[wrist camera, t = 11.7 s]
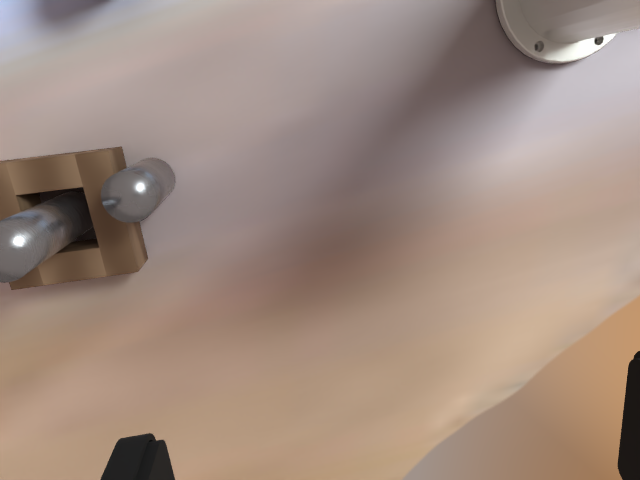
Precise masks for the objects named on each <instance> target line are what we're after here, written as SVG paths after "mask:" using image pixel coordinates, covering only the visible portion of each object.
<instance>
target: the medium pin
mask: <svg viewBox="0 0 640 480" xmlns="http://www.w3.org/2000/svg"><path fill="white" fill-rule="evenodd" d="M174 186H175V175H174V172H173V170H172V168H171V167H170V166H169V165H168V164H167V163H166V162H164V161H162V160H160V159H157V158H147V159H144V160H142V161H140V162H138V163H136V164H134V165H132V166H130V167H128V168H126V169H124V170H122V171H120V172H118V173H116V174H114V175H112V176H110V177H109V178H108V179H107V180H106V181H105V182H104V184H103V186H102V189H101V200H102V204H103V206H104V208H105V209H106V211H107V212H108V213H109V214H110V215H111V216H112V217H114V218H115V219H117V220H119V221H122V222H127V223H134V222H139V221H142V220H143V219H145V218H147V217H148V216H149V215H150V214H151V213H152V212H153V211H154V210H155V209H156V208H157V207H158V206H159V205H160V203H161V202H162V201H163V200H164V199H165V198H166V197H167V196H168V195H169V194H170V193H171V192H172V190H173V189H174Z"/></svg>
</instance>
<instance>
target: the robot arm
mask: <svg viewBox="0 0 640 480" xmlns="http://www.w3.org/2000/svg"><path fill="white" fill-rule="evenodd" d="M496 8H497V13H498V16H499V19H500V23H501V25H502V27H503V29H504V31H505V33H506V35H507V37H508V38H509V39H510V41H511V42H512V43H513V44H514V45H515V47H516V48H517V49H519V50H520V51H521V52H523V53H524V54H525V55H527V56H529V57H531V58H533V59H535V60H537V61H541V62H546V63H566V62H573V61H576V60H580V59H583V58H586V57H588V56H590V55H591V54H593V53H595V52H597V51H599V50H600V49H601V48H602V47H604V46H605V45H606V44H607V43H609V42H610V41H611V40H612V39H613V37H614V36H615V35H616V34H617V33H619V32H624V31H629V30H633V29H638V28H640V0H496ZM534 46H535V48H534ZM618 469H619V473H620V475H621V477H622V479H623V480H640V351H638V352H637V353H636V354H635V355H634V359H633V360H631V362H630V363H629V367H628V375H627V384H626V395H625V402H624V411H623V420H622V429H621V439H620V448H619V457H618ZM101 480H175V478H174V474H173V470H172V466H171V462H170V458H169V454H168V450H167V446H166V443H165V441H164V440H158V441H156V439H155V437H154V435H153V434H151V433H150V434H144V435H138V436H132V437H126V438H121V439H119V440H118V442H117V443H116V445H115V448H114V450H113V452H112V454H111V457H110V459H109V461H108V464H107V466H106V468H105V470H104V473H103V475H102V477H101Z"/></svg>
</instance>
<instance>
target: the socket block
mask: <svg viewBox="0 0 640 480" xmlns="http://www.w3.org/2000/svg"><path fill="white" fill-rule="evenodd" d="M126 168H127V167H126V163H125V159H124V154H123V150H122V147H115V148H107V149H98V150H90V151H82V152H73V153H65V154H56V155H48V156H39V157H31V158H23V159H14V160H6V161H0V221H1V220H3V219H5V218H8V217H10V216H12V215H15V214H17V213H19V212H22V211H24V210H26V209H29V208H31V207H33V206H36V205H38V204H40V203H42V202H41V199H40V195H39V192H46V191H54V190H62V189H70V188H78V187H83V189H84V192H85V196H86V200H87V204H88V207H89V211H90V215H91V219H92V222H93V226H94V230H95V234H96V237H97V238H95V239H87V240H80V241H73V242H71V243H70V244H68V245H67V246H65V247H64V248H62V249H61V250H60V251H58V252H57V253H55V254H54V255H53V256H51V257H50V258H48V259H47V260H45V261H44V262H43V263H41V264H40V265H38V266H37V267H35V268H34V269H33V270H31V271H30V272H28V273H27V274H26V275H24V276H23V277H21V278H20V279H18V280H15V281H12V282H9V284H10V286H11V289H12V290H15V289H22V288H29V287H36V286H43V285H50V284H57V283H64V282H71V281H78V280H85V279H92V278H99V277H106V276H113V275H120V274H127V273H134V272H138V271H139V270H140V268H141V267H142V266H143V264H144V263H145V262H146V260H147V259H148V257H147V252H146V248H145V244H144V240H143V235H142V231H141V227H140V223H139V222H134V223H127V222H122V221H119V220H117V219H115V218H114V217H112V216H111V215H110V214H109V213H108V212H107V211H106V209H105V208H104V206H103V204H102V200H101V189H102V186H103V184H104V182H105V181H106V180H107V179H108V178H109V177H110V176H112V175H114V174H116V173H118V172H120V171H122V170H124V169H126Z"/></svg>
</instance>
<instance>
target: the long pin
mask: <svg viewBox="0 0 640 480" xmlns="http://www.w3.org/2000/svg"><path fill="white" fill-rule="evenodd" d="M92 227H93V222H92V219H91V215H90V211H89V207H88V204H87V200H86V196H85V194H84V193H82V192H78V191H70V192H66V193H64V194H61V195H59V196H57V197H54V198H52V199H50V200H47V201H45V202H43V203H40V204H38V205H36V206H33V207H31V208H29V209H26V210H24V211H22V212H19V213H17V214H15V215H12V216H10V217H8V218H5V219H3V220H1V221H0V282H4V283H5V282H12V281H15V280H18V279H20V278H21V277H23V276H24V275H26V274H27V273H28V272H30V271H31V270H33V269H34V268H35V267H37V266H38V265H40V264H41V263H43V262H44V261H45V260H47V259H48V258H50V257H51V256H53V255H54V254H55V253H57V252H58V251H60V250H61V249H62V248H64V247H65V246H67V245H68V244H70V243H71V242H72V241H74V240H75V239H77V238H78V237H80V236H81V235H82V234H84V233H85V232H87V231H88V230H89V229H91V228H92Z"/></svg>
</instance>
